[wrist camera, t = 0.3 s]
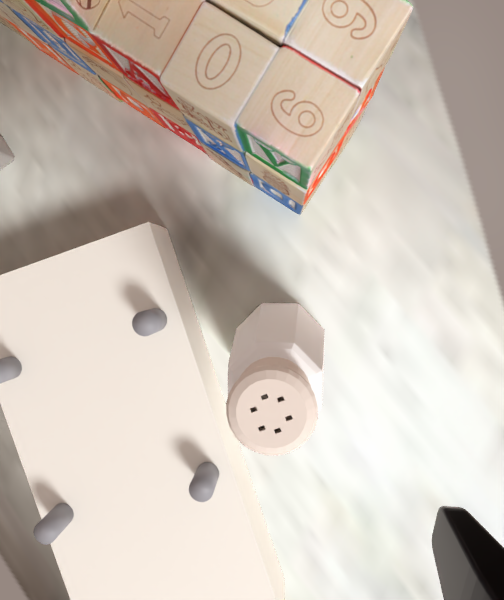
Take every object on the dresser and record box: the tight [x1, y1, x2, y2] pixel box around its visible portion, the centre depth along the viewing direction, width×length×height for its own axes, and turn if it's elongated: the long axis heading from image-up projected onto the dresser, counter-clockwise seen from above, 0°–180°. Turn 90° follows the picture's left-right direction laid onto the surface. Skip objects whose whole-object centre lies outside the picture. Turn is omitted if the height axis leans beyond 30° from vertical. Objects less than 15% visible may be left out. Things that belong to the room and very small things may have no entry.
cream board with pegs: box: [0, 222, 285, 600], centre depth 22 cm, size 22×11×5 cm, turn 18°
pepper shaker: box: [226, 303, 324, 456], centre depth 17 cm, size 5×5×11 cm
